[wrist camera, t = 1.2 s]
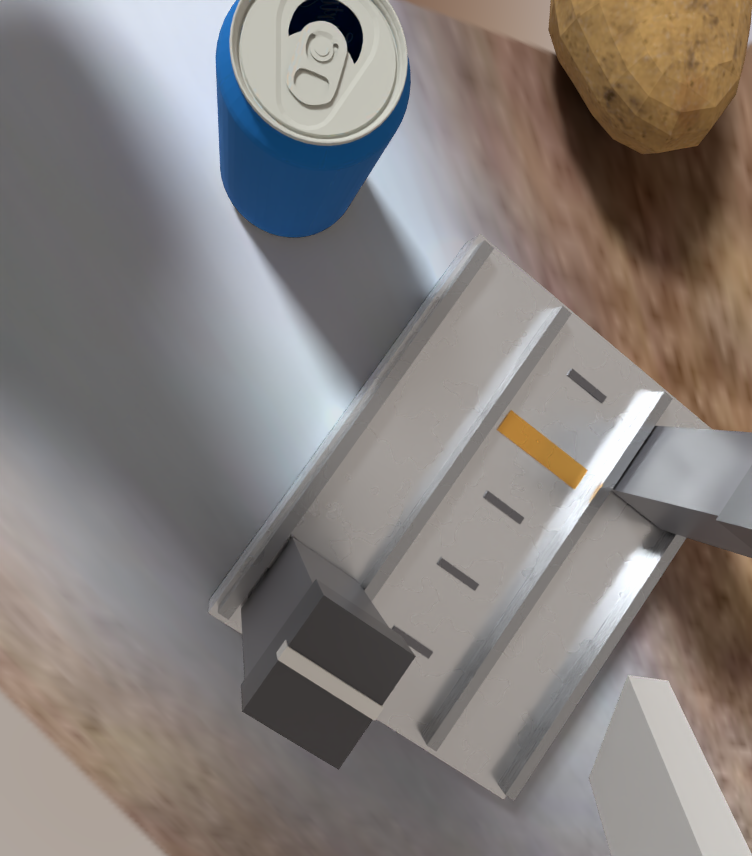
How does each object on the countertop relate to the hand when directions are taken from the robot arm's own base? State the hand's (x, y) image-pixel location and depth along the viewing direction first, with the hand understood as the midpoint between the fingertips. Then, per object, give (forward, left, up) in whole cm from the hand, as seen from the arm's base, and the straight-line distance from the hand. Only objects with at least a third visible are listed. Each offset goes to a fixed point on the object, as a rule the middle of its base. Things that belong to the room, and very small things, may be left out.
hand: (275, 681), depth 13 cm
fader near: (+4, -2, -19) cm, 19 cm away
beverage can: (-8, +14, -21) cm, 27 cm away
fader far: (+16, +13, -19) cm, 28 cm away
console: (+10, +6, -21) cm, 24 cm away
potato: (+1, +30, -21) cm, 37 cm away
